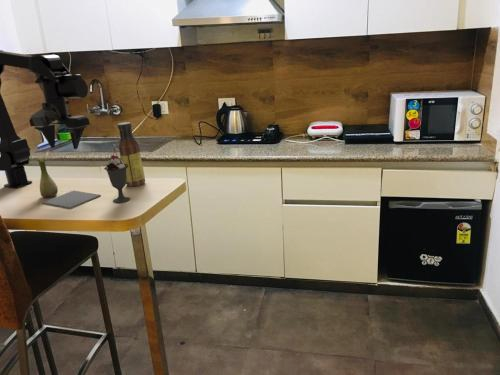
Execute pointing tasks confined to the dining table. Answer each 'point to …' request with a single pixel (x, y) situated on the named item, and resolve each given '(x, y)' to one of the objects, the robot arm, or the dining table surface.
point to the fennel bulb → (46, 182)
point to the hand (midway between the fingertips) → (64, 148)
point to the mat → (71, 199)
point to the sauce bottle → (130, 155)
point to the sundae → (117, 176)
